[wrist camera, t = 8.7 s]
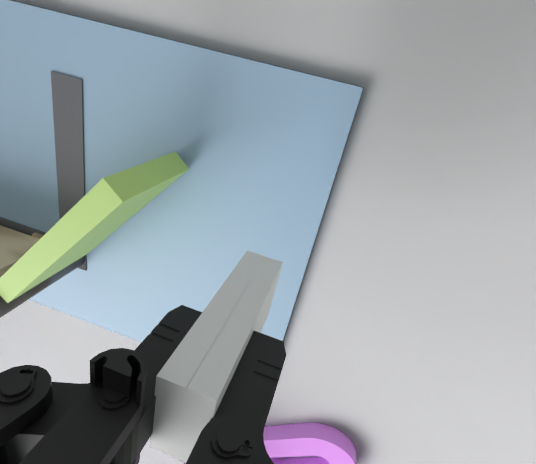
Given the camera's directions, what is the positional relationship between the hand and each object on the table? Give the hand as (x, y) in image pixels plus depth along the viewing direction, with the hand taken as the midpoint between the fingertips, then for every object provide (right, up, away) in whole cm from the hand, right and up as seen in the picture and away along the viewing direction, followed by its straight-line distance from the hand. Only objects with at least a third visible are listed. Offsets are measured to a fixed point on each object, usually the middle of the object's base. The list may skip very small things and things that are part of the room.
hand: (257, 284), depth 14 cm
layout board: (-11, +4, +9) cm, 14 cm away
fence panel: (-8, +4, +8) cm, 12 cm away
